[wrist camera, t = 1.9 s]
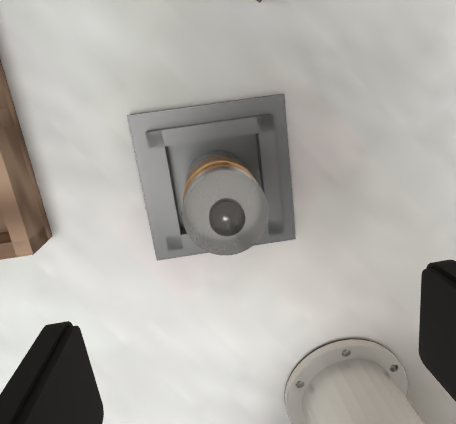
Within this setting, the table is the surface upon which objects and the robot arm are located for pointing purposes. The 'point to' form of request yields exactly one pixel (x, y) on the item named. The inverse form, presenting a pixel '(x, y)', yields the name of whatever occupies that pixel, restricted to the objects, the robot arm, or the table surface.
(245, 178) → the cell
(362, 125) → the table surface
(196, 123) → the tester cradle
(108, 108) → the table surface
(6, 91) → the wooden divided tray
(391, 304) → the table surface
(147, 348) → the table surface
